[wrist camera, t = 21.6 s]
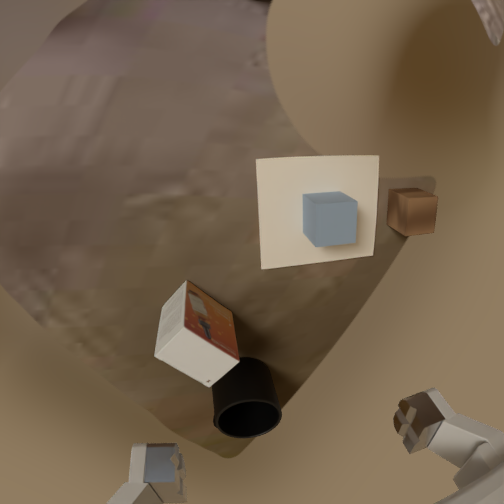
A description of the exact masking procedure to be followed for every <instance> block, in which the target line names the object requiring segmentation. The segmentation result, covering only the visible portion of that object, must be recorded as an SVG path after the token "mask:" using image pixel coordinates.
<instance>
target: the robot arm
mask: <svg viewBox="0 0 504 504" xmlns="http://www.w3.org/2000/svg"><path fill="white" fill-rule="evenodd" d="M398 406H399V409H398V411H396V413H395V415H394V418H393V420H394V427H395V429H396V431H397V433H398V434H399V435H401V436H403V444H404V445H405V447H406V449H407V451H408V452H409V454H411V453H414V452H416V451H419V450H421V449H424V448H426V447H428V449H429V450H431V451H433V452H434V453H436V454H437V455H439V456H441V457H442V458H444V459H446V460H447V461H449V462H451V463H452V464H454V465H456V466H457V467H459V468H461V469H460V470H459V471H458V472H457V474H456V475H455V476H454V478H453V480H454V482H455V484H456V485H457V487H458V489H459V490H458V491H456V492H455V493H453V494H451V495H449V496H447V497H446V498H444V499H442V500H440V501H438V502H436V503H434V504H504V433H503V432H502V431H500V430H498V429H495V428H493V427H490V426H488V425H486V424H483V423H481V422H478V421H476V420H473V419H471V418H469V417H466V416H464V415H462V414H459V413H458V414H455V412H454V411H453V410H452V408H451V407H450V406H449V404H448V403H447V402H446V400H445V399H444V398H443V397H442V395H441V394H440V393H439V391H438V390H437V389H435V388H431V389H428V390H426V391H423V392H420V393H417V394H415V395H412V396H409V397H407V398H404V399H402V400H401V401H400V402H399V404H398ZM185 477H186V470H185V463H184V460H183V456H182V454H181V453H179V447H178V445H177V443H157V444H156V443H154V444H149V443H141V444H140V443H137V444H136V443H135V444H133V447H132V452H131V462H130V473H129V482H125V483H124V484H123V485H122V486H121V487H120V488H119V490H118V491H117V492H116V493H115V494H114V495H113V496H112V498H111V499H110V500H109V501H108V502H107V503H106V504H163V503H184V502H187V489H186V486H185V484H184V482H183V480H184V479H185Z"/></svg>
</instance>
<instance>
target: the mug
mask: <svg viewBox="0 0 504 504" xmlns="http://www.w3.org/2000/svg"><path fill="white" fill-rule="evenodd" d="M239 360H240V361H239V363H237V364H236V365H235V366H234V367H233V368H232V369H231V370H229V371H228V372H227V373H226V374H225V375H224V376H222V377H221V378H220V379H219V380H218V381H216V382H215V383H214V384H213V385H212V392H213V403H214V418H213V423H214V426H215V427H216V428H218V429H219V430H220V431H221V432H222V433H223V434H225V435H227V436H230V437H234V438H252V437H257V436H260V435H263V434H266V433H268V432H269V431H271V430H272V429H274V428H275V427H276V426H277V425H278V424H279V422H280V420H281V417H282V412H281V408H280V405H279V401H278V398H277V395H276V391H275V388H274V384H273V381H272V378H271V374H270V371H269V369H268V367H267V366H266V365H265V364H263V363H262V362H261V361H259V360H256V359H253V358H239Z"/></svg>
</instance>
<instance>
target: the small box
mask: <svg viewBox="0 0 504 504" xmlns="http://www.w3.org/2000/svg"><path fill="white" fill-rule="evenodd" d="M154 356H155V357H156V358H158V359H160V360H162V361H164V362H166V363H167V364H169V365H171V366H172V367H174V368H176V369H178V370H179V371H181V372H183V373H185V374H187V375H188V376H190V377H192V378H194V379H195V380H197V381H199V382H201V383H202V384H204V385H206V386H207V387H210V386H212V385H213V384H214V383H215V382H216V381H218V380H219V379H220V378H221V377H222V376H224V375H225V374H226V373H227V372H228V371H229V370H231V369H232V368H233V367H234V366H235V365H236V364H237V363H239V361H240V360H239V354H238V347H237V341H236V335H235V329H234V322H233V316H232V312H231V311H230V310H228V309H227V308H225V307H224V306H222V305H221V304H219V303H218V302H216V301H215V300H214V299H212V298H211V297H210V296H208V295H207V294H205V293H204V292H203V291H201V290H200V289H199V288H197V287H196V286H195V285H193V284H192V283H191V282H189V281H188V280H186V281H185V282H184V283H183V285H182V286H181V287H180V288H179V289H178V290H177V291H176V292H175V293H174V294H173V295H172V297H171V298H170V299H169V300H168V301H167V302H166V303H165V304H164V306H163V307H162V312H161V318H160V323H159V329H158V335H157V341H156V348H155V354H154Z"/></svg>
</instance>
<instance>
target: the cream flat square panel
mask: <svg viewBox="0 0 504 504" xmlns="http://www.w3.org/2000/svg"><path fill="white" fill-rule="evenodd" d="M256 172H257V191H258V211H259V231H260V251H261V269H270V268H279V267H287V266H295V265H303V264H311V263H319V262H327V261H335V260H343V259H350V258H358V257H365V256H373V251H374V241H375V229H376V215H377V199H378V177H379V156H378V155H343V156H342V155H340V156H339V155H338V156H302V157H281V158H264V159H256ZM337 191H341V192H342V193H344V194H346V195H348V196H349V197H351V198H353V199H355V200H356V201H358V206H357V227H356V243H349V244H341V245H332V246H324V247H315V246H314V245H313V244H312V243H311V241H310V240H309V239H308V238H307V237H306V236H305V234H304V233H303V196H302V194H307V193H322V192H337Z"/></svg>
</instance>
